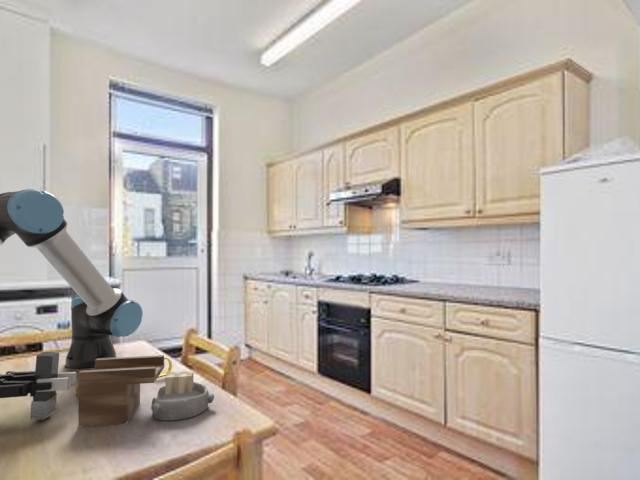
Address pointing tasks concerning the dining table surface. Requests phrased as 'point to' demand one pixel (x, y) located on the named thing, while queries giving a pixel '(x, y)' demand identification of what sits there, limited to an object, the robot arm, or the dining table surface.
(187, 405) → the dish
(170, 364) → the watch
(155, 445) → the dining table surface
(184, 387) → the cream square block
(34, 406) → the dark gray upright block
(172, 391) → the cream block
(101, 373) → the slot board
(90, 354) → the robot arm
